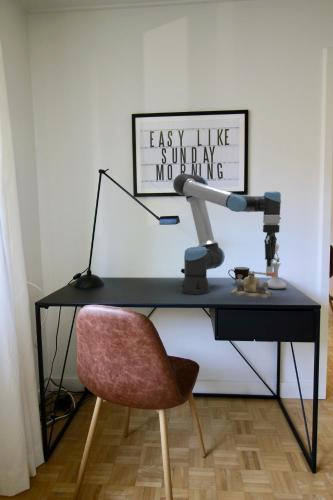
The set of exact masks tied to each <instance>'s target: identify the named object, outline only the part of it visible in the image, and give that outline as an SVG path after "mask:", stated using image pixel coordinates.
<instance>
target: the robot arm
mask: <svg viewBox="0 0 333 500" xmlns="http://www.w3.org/2000/svg"><path fill="white" fill-rule="evenodd" d="M172 188H173V190H174V192H175V193H176V194H178V195H180V196H184V197H185V199H186V200H185V201H186V202H188V204H189V205H190V210H191V215H192V218H193V223H194V227H195V231H196V235H197V239H198V245H197V246H191V247H188V248H186V249H185V250H184V255H183V258H184V265H183V267H184V269H185V274H184V278H183V281H182V283H181V289H180V291H181V293H183V294H187V295H205V294H209V293H210V291H211V287H210V284H209V280H208V278H207V276H208V275H207V272H208V270H212V269H213V270H214V269H217V268H220V267H221V266H222V265H223V263H224V261H225V257H226V256H225V252H224V250H223V249H222V248H221V247H219V243H218V241H216V240H215V237H214V233H213V229H212V225H211V221H210V216H209V211H208V208H207V204H206V202H209V203H212V204H215V205H218V206H221V207H224V208H227V209H228V210H229V211H232V212H235V213H242V212H244V213H255V212H257V213H258V212H260V213H262V212H263V218H262V219H263V220H262V221H263V222H262V223H263V225H262V232H263V233H265V234H266V235H265V239H264V240H263V242H264V256H265V257H264V260H266V266H265V267H266V268H265V273H273V272H274V269H273V263H274V261H276V260H275V258H276V253H275V247H276V244H277V240H278V238H277V236H276V234H278V233H280V229H281V228H280V227H281V226H280V223H281V222H280V220H281V219H282V217H281V202H282V199H281V197H282V196H281V195H282V194H281V192H280V191H277V190H276V191H275V190H274V191H272V190H271V191H265V192H264V194H263V195H262V196H260V195H259V196H254V195H241V194H238V193H235V192H231V191H228V190H224V189H221V188H218V187H215V186H211V185H208V181H207V180H206V178H205V177H203V176H201V175H199V174H198V175H197V174H190V173H189V174H188V173H181V174H178V175H177V176H175V178H174V179H173V182H172ZM274 257H275V258H274Z"/></svg>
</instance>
